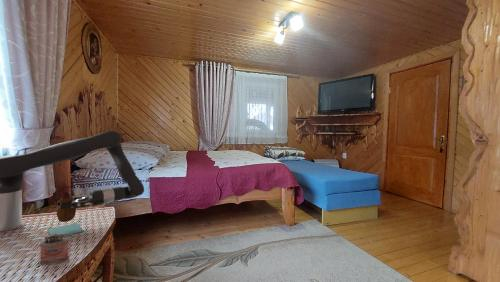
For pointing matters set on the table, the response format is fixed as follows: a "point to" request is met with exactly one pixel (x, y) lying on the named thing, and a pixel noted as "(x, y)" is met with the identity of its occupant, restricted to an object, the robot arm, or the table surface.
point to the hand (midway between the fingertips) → (58, 205)
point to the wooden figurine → (66, 213)
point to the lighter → (54, 249)
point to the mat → (66, 229)
